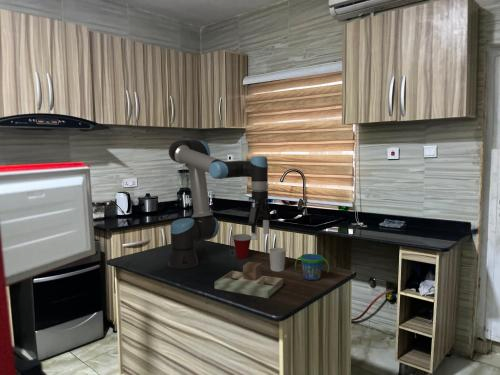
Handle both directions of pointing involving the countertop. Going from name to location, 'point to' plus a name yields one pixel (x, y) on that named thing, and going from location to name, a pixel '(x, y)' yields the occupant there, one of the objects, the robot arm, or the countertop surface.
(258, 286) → the frame
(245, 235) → the plastic cup
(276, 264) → the white cup
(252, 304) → the countertop surface
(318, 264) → the snack cup
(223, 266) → the countertop surface
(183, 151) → the robot arm
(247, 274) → the walnut block
